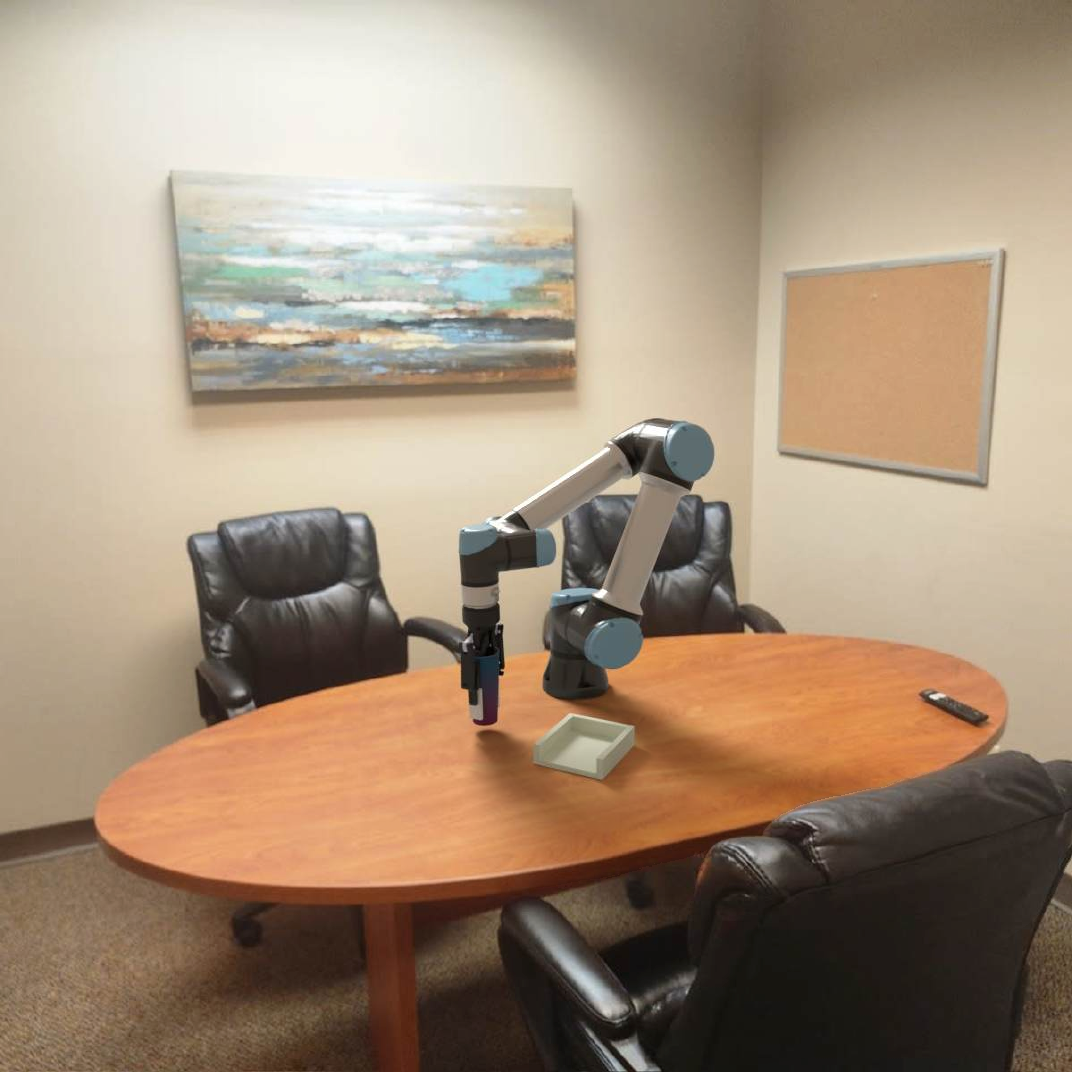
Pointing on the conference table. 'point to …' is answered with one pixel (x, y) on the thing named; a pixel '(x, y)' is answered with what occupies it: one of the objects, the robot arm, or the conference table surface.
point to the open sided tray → (584, 745)
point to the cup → (489, 688)
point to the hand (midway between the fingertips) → (484, 711)
